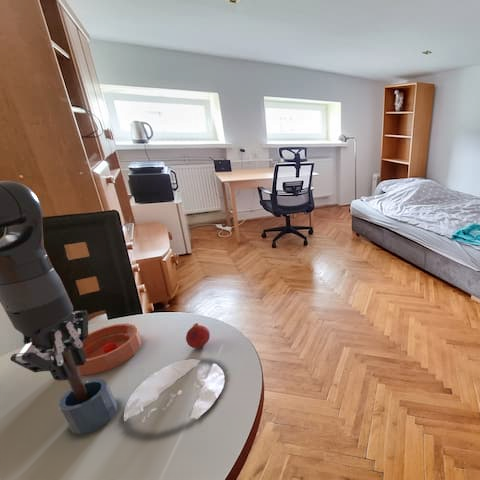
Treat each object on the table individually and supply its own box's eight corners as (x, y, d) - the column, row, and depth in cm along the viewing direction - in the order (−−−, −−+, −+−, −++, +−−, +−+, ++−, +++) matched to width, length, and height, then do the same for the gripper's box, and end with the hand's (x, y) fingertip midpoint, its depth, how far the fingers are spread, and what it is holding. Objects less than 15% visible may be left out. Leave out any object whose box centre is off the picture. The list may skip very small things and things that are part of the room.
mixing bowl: (58, 379, 71) (49, 364, 70) (100, 339, 85) (94, 325, 83) (121, 373, 73) (114, 358, 71) (152, 335, 87) (147, 321, 85)
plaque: (141, 373, 72) (140, 369, 72) (227, 354, 79) (226, 350, 78) (108, 453, 55) (105, 448, 54) (221, 419, 61) (220, 415, 61)
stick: (82, 421, 60) (53, 354, 54) (88, 413, 62) (62, 347, 56) (91, 420, 61) (64, 353, 54) (97, 412, 62) (72, 347, 56)
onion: (205, 354, 79) (199, 331, 76) (185, 354, 79) (177, 331, 76) (215, 340, 84) (210, 317, 81) (196, 340, 84) (190, 317, 81)
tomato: (103, 351, 79) (98, 348, 77) (112, 342, 81) (108, 339, 79) (111, 356, 79) (106, 353, 77) (120, 347, 81) (116, 344, 79)
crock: (62, 438, 58) (47, 412, 55) (90, 405, 65) (78, 380, 62) (102, 433, 59) (89, 407, 56) (125, 401, 66) (115, 376, 63)
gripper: (47, 279, 57) (79, 348, 63) (-35, 324, 44) (16, 405, 50) (88, 276, 57) (116, 344, 64) (20, 319, 44) (63, 400, 51)
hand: (72, 371), depth 57 cm, fingers open, 3 cm apart
